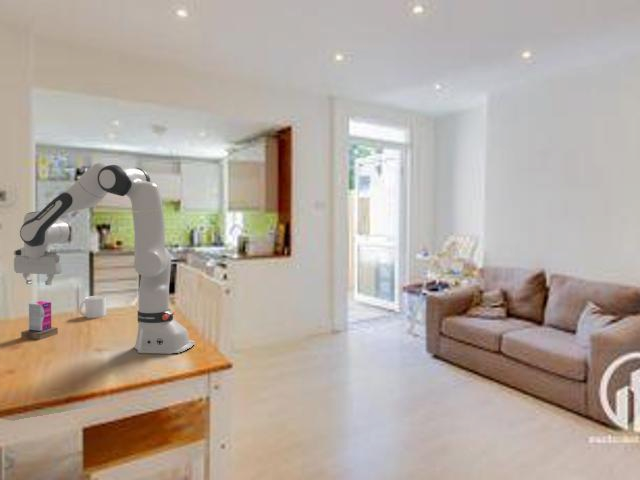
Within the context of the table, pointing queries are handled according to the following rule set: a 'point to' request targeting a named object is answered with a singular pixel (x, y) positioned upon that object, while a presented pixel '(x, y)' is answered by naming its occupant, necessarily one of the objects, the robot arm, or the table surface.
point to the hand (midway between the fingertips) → (38, 284)
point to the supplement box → (39, 316)
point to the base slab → (39, 333)
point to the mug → (94, 307)
